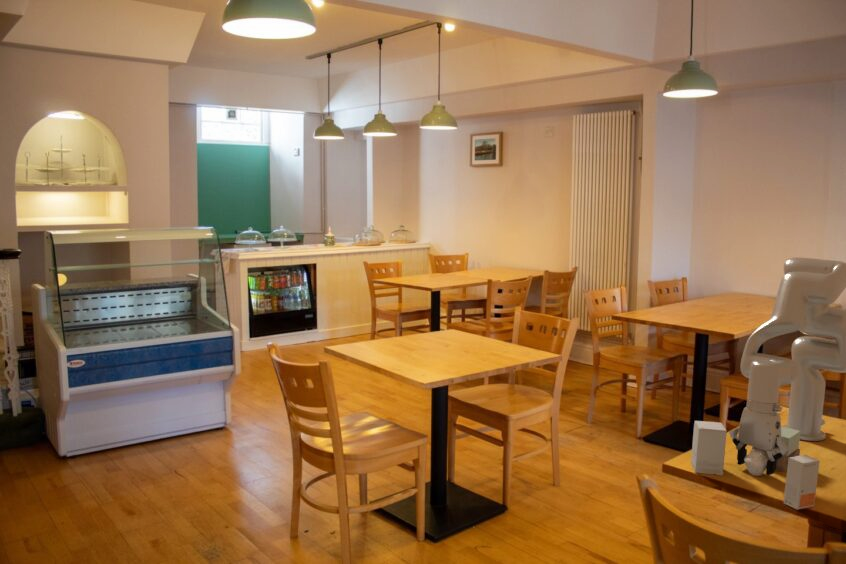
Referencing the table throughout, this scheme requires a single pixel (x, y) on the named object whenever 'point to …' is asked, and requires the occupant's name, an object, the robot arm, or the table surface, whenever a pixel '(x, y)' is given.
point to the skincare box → (801, 482)
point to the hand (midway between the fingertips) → (755, 468)
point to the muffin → (756, 462)
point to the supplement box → (708, 447)
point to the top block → (790, 439)
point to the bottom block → (782, 459)
